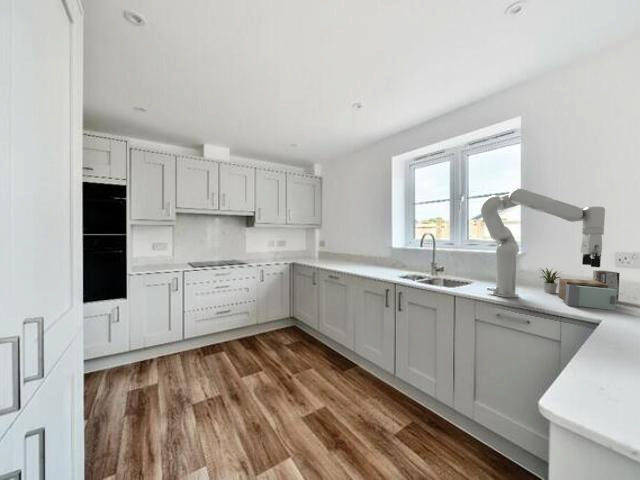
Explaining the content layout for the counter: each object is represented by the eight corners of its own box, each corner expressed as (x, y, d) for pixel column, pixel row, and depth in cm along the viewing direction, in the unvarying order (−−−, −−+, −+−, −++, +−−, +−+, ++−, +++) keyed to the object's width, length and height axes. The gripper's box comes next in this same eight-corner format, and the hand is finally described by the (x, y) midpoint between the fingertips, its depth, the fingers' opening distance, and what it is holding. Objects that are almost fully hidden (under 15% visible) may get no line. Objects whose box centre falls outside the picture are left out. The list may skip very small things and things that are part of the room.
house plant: (527, 290, 173) (528, 265, 173) (542, 288, 178) (543, 264, 177) (552, 295, 160) (553, 268, 159) (567, 293, 164) (568, 267, 163)
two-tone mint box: (567, 305, 137) (569, 285, 136) (565, 303, 140) (566, 284, 140) (616, 311, 129) (618, 290, 128) (612, 308, 132) (613, 288, 132)
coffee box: (619, 302, 144) (620, 272, 144) (604, 301, 146) (606, 272, 145) (604, 298, 153) (606, 270, 153) (591, 297, 154) (592, 269, 154)
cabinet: (569, 306, 136) (570, 284, 136) (555, 296, 156) (555, 278, 156) (617, 311, 128) (618, 288, 128) (596, 300, 148) (596, 280, 148)
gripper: (575, 231, 142) (574, 263, 143) (590, 231, 127) (588, 267, 128) (595, 231, 139) (593, 264, 140) (612, 231, 124) (610, 268, 124)
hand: (590, 265), depth 134 cm, fingers open, 9 cm apart
